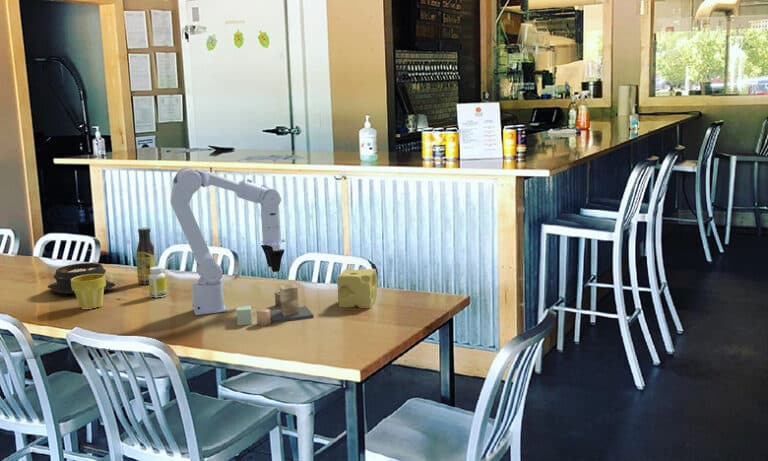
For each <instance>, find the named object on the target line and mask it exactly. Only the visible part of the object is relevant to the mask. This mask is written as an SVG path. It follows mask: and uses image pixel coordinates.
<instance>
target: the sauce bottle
mask: <svg viewBox="0 0 768 461" xmlns="http://www.w3.org/2000/svg"><path fill="white" fill-rule="evenodd" d="M137 229H138V230H137V233H138V237H139V239H138V245H137V249H136V252H135V253H136V255H135V256H136V269H137V271H136V273H137V281H138V284H140V285H143V284H144V285H149V275H150V274H151V273H150V268H151V267H156V254H155V246H154V244H153V243H152V241H151V228H150V227H146V226H145V227H139V228H137Z"/></svg>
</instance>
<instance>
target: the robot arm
mask: <svg viewBox="0 0 768 461" xmlns="http://www.w3.org/2000/svg"><path fill="white" fill-rule="evenodd" d="M210 186H214V187H216V188H221V189H224V190H228V191H231V192H234V193H235V194H236V196H237V198H239V199H241V200H246V201H248V202H252V203H254V204H260V217H261V218H260V219H261V234H262V241H261V242H262V244H261V245H260V248H261V249H262V251H263V253H264V256H265V259H266V260H265V261H266V264H267V266H268V268H271V271H272V273H277V272H280V271H281V265H282V264H281V263H282V259H283V255H284V253H285V249H284V248H283V249H281V248H280V247H281V246H280V245H281V244H282V243H285V242H286V239H285V238H282V233H281V232H282V230H281V218H280V216H281V214H280V204H281V202H282V197H281V195H280V193H279V192H278V191H277V190H276V189H273V188H271V187H269V186H267V185H266V184H262V185H261V184H259V183H255V182H253V180H252V179H249V178H247V179H242V180H239V181H235V180H233V179H229V178H227V177H224V176H222V175H218V174H215V173H212V172H210V171H206V170H200V169H192V168H190V167H182V168H180V169H179V170H178V171H177V173H176V174H175V176H174V178H173V180H172V189H171V194H170V205H171V208H172V209H173V212H174V214H175V215H176V218H177V220H178V223H179V225H180V227H181V229H182V231H183V234H184V236H185V238H186V240H187V242H188V244H189V245H188V246H189V247H190V249H191V252H192V253H193V256H194V260H195V263H196V268H195V269H196V273H197V274H198V276H200V277H199V279H198V280H197V282H196V283H193V284H191V296H192V297H191V298H192V303H191V306H192V309H193V312H194V315H196V316H200V315H208V314H217V313H223V312H224V313H225V312H227V311H228V309H227V308H226V305H225V301H224V300H225V299H224V287H223V286H224V284H223V279H222V278H223V273H224V272H223V271H224V270H223V268H222V267H221V266H220V265H219V264H218V263H217V262H216V260H215V259H214V257H213V254H212V253H211V251H210V249H209V247H208V244H207V242H206V241H205V238H204V236H203V233H202V231H201V228H200V227H199V225H198V222H197V219H196V218H195V214H194V213H193V211H192V208H191V206H190V202H191V200H192V197H193V195H194V194H195V193H196V192H197V191H199V189H200V188H201V187H202V188H206V187H210Z"/></svg>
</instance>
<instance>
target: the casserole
mask: <svg viewBox="0 0 768 461" xmlns="http://www.w3.org/2000/svg"><path fill="white" fill-rule="evenodd" d="M106 272H107V269H105V268H104V266H103V264H101V263H96V262H82V263H74V264H73V263H72V264H69V265H64V266H61V267H59V268H57V269H56V270H55V273H54V275H53V277H52V278H54V280H55V281H56V282H54V283H50V284H48V285H47V289H51V290H52V291H53V292H55V293H60V294H64V293H65V294H64V295H68V294H75V292H74V291H73V290H72V287H71V279H72V278H74V277H77V276H81V275H87V274H103V275H105V273H106ZM115 286H116V283H114V282H111V281H109V280H107V279H106V286H105V287H104V291H106V290H109V289H112V288H113V287H115Z"/></svg>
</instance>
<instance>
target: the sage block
mask: <svg viewBox="0 0 768 461" xmlns="http://www.w3.org/2000/svg"><path fill="white" fill-rule="evenodd" d="M236 321H237V326H245V325H247V326H249V325H253V313H252V305H242V306H240V305H239V306H237V307H236Z"/></svg>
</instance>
